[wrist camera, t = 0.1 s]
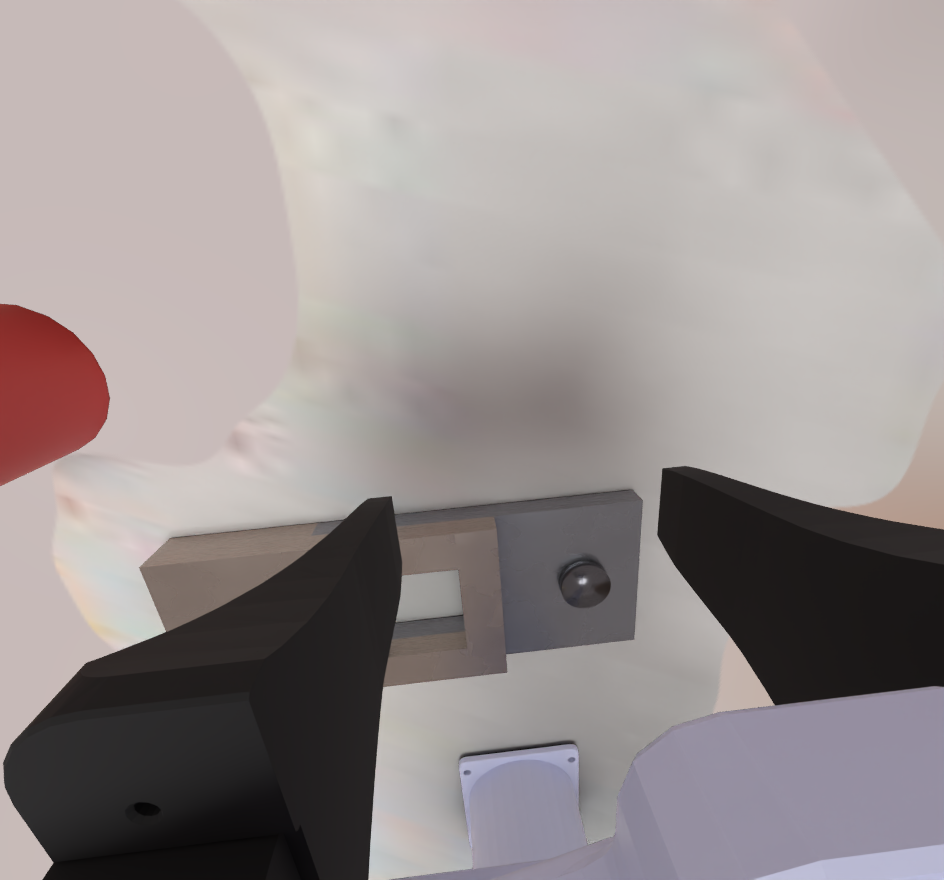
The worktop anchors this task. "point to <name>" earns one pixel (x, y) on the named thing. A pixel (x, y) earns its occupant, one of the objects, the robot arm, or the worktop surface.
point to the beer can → (45, 392)
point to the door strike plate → (441, 549)
